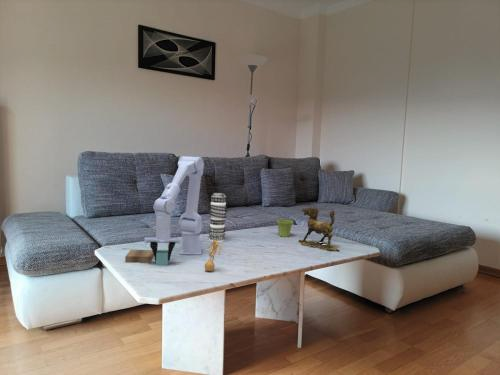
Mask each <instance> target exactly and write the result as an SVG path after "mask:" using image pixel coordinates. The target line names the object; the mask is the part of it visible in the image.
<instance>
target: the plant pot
mask: <svg viewBox="0 0 500 375" xmlns="http://www.w3.org/2000/svg"><path fill="white" fill-rule="evenodd" d="M276 222H277V228H278V230H277V231H278V237H282V238H288V237H290V235H291V229H292V226H293V224H294V221H293V220H291V219H290V220H288V219H277V220H276Z"/></svg>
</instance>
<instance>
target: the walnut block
mask: <svg viewBox="0 0 500 375" xmlns="http://www.w3.org/2000/svg"><path fill="white" fill-rule="evenodd" d="M154 258H155V257H154V254H153V251H152V249H130V250H129V252H128V253H127V254H126V255H125V263H129V264H130V263H131V264H132V263H135V264H136V263H139V264H140V263H142V264H143V263H145V264H146V263H148V264H150V263H152V260H153V259H154Z"/></svg>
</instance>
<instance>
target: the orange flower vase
mask: <svg viewBox="0 0 500 375" xmlns="http://www.w3.org/2000/svg"><path fill="white" fill-rule="evenodd" d="M211 246H212V248H211V250H210V251H209V253H208V256H209V257H210V258H209V259H208V260H207V261H206V262H205V263H204V269H205V270H206V271H208V272H212V271H213V270H214V269H215V268H216V267H215V266H216V265H215V263H214V259H215V255H216V253H218V255H219V256H220V255H221V249H222V247H221V245H220V242H217V241H213V242H212V243H210V244H209V245H208V246H207V248H206V249H205V251H207V250H208V249H209V248H210V247H211ZM218 248H219V252H217V249H218Z"/></svg>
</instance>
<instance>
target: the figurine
mask: <svg viewBox="0 0 500 375" xmlns="http://www.w3.org/2000/svg"><path fill="white" fill-rule="evenodd" d="M301 211H302V212H303V215H304V216H306V215H307V216H308V217H309V218H308V220H307V227H308V228H307V232H306V234H305V235H304V238H303V239H298V243H300V244H301V246H305V247H306V246H307V247H309V248H315V249H316V248H317V249H320V250H323V251H328V252H340V249H339V248H338V247H335V246H332V242H331V239H332V238H333V234H332V232H333V231H334V227H333V225H334V223H335V210H334V209H332V210H331V211H330V213H329V217H330V222H328V221H319V220H318V214H319V212H320V210H319V209H318V208H317V207H316V206H314V207H311V206H310V207H307V208H302V210H301ZM313 232H315V233H316V234H317V235H323V237H322V238H321V239H319V241H318V242H315V241H312V240H309V241H308V240H307V238H308V236H310V235H311V234H312V233H313ZM325 238H327V239H328V240H327V242H324V240H325ZM319 242H322V243H319ZM322 244H327V245H322ZM338 249H339V250H338Z"/></svg>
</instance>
